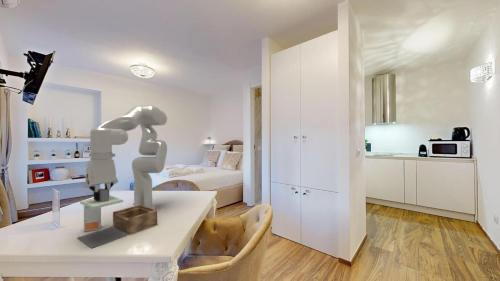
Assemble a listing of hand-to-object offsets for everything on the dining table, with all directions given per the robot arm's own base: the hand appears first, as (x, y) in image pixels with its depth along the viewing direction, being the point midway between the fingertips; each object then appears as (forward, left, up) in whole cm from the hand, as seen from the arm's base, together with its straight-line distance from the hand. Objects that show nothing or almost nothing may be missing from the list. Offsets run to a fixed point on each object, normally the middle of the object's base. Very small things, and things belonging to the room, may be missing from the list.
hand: (101, 199), depth 89 cm
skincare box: (-13, +1, -16) cm, 21 cm away
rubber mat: (0, 0, -16) cm, 16 cm away
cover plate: (0, 0, -1) cm, 1 cm away
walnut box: (0, +14, -16) cm, 22 cm away
